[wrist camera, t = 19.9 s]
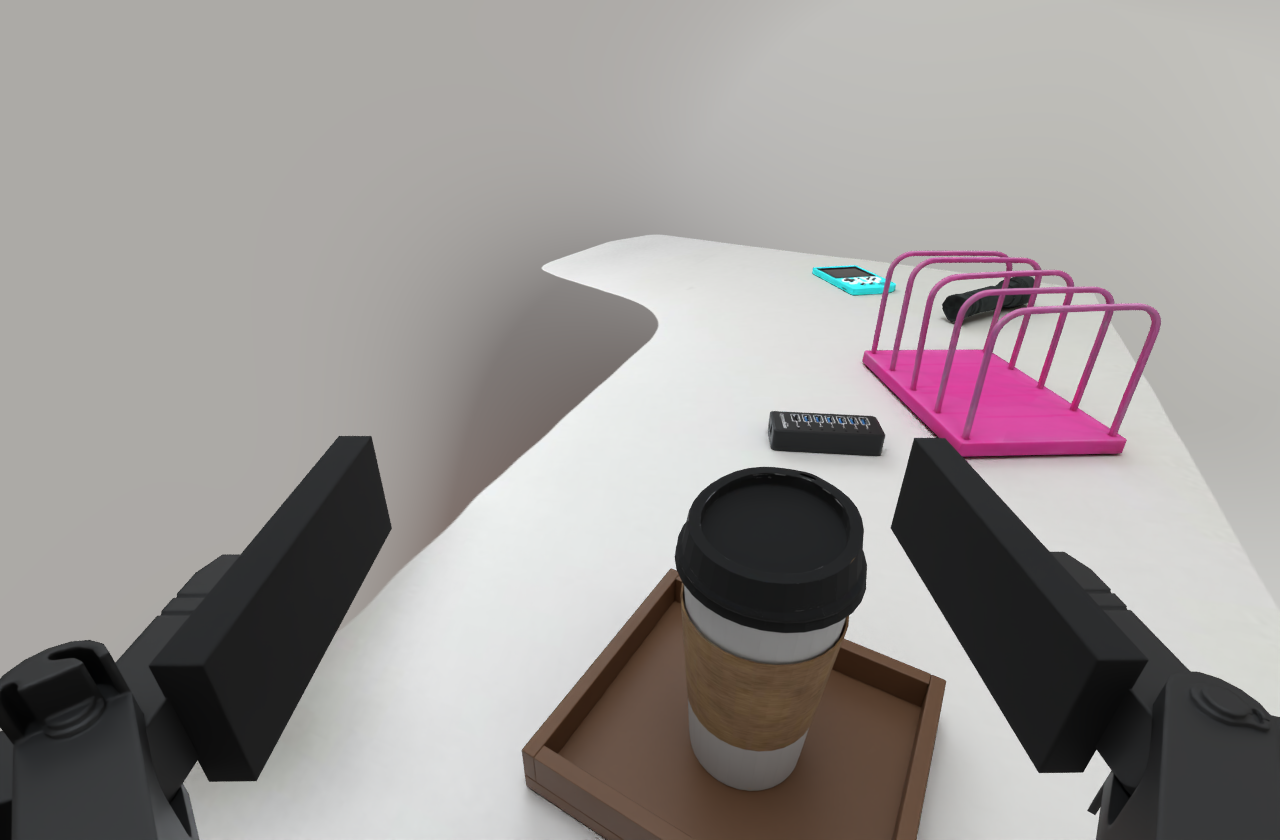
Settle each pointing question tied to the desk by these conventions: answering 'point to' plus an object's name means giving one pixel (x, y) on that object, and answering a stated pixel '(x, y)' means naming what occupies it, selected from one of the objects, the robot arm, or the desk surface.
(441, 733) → the desk surface
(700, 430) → the desk surface
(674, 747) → the tray
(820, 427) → the multiport hub
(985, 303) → the flashlight
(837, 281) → the handheld game console
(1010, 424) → the file sorter
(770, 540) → the coffee cup
